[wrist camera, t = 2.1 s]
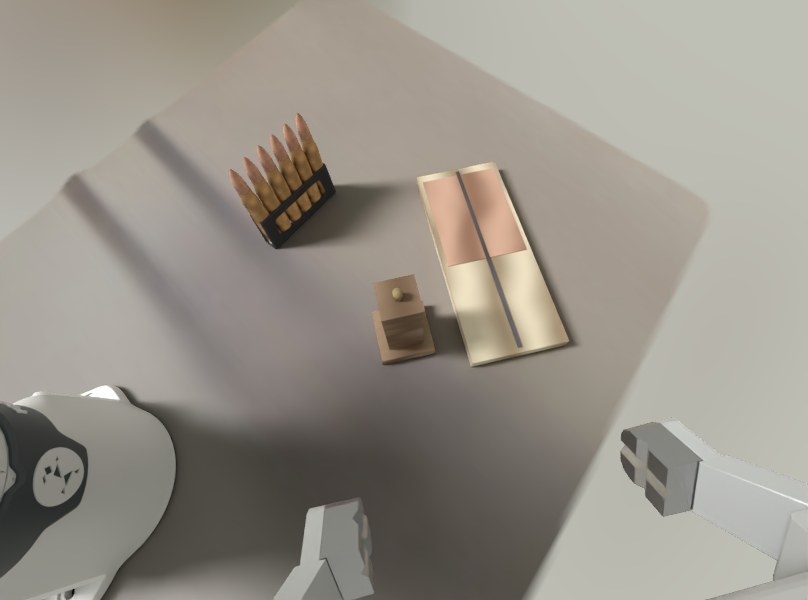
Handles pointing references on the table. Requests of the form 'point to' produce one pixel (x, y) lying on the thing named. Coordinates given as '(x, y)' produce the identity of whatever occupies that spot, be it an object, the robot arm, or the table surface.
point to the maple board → (488, 266)
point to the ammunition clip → (285, 185)
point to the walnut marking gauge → (401, 321)
